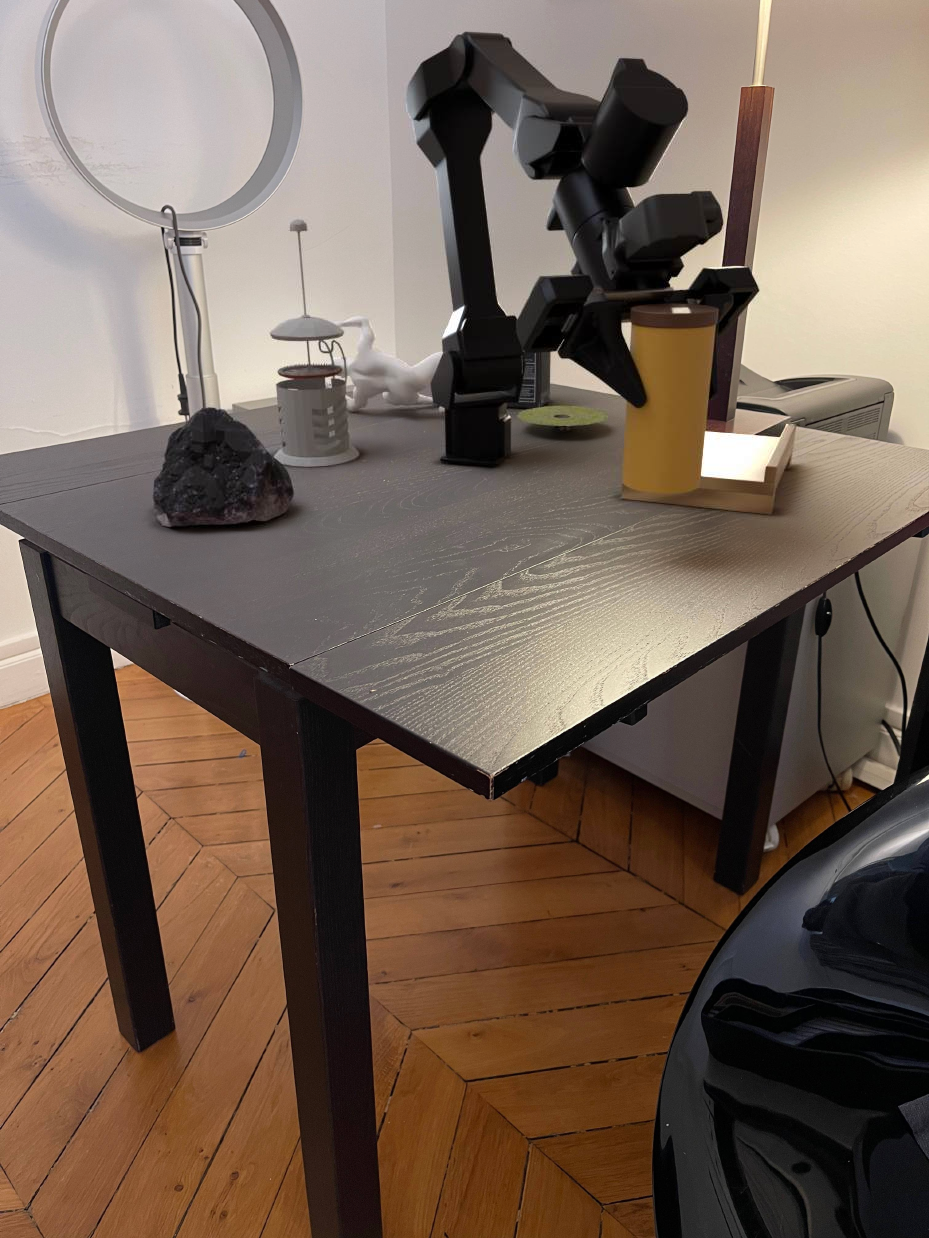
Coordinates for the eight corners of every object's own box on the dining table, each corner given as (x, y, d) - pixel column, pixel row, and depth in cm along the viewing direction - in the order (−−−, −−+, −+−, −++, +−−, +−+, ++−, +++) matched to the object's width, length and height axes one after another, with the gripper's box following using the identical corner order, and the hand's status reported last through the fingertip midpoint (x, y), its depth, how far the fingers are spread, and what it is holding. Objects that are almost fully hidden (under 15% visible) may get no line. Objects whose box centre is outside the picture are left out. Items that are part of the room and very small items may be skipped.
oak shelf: (621, 498, 90) (623, 453, 88) (661, 454, 105) (664, 414, 103) (771, 515, 85) (777, 467, 83) (790, 465, 100) (796, 424, 98)
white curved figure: (459, 323, 128) (330, 305, 122) (484, 358, 119) (345, 340, 113) (439, 411, 135) (317, 398, 129) (462, 450, 126) (330, 438, 120)
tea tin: (613, 490, 71) (623, 312, 65) (628, 469, 76) (638, 302, 71) (696, 497, 69) (714, 314, 63) (705, 475, 74) (722, 304, 69)
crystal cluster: (243, 548, 81) (244, 434, 77) (114, 520, 85) (109, 410, 81) (317, 514, 93) (320, 414, 89) (200, 491, 96) (199, 394, 93)
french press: (256, 462, 104) (230, 220, 94) (309, 439, 114) (291, 217, 104) (333, 470, 101) (314, 220, 91) (381, 445, 111) (369, 217, 100)
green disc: (621, 426, 118) (622, 410, 117) (582, 445, 110) (583, 428, 109) (543, 416, 124) (543, 402, 123) (500, 434, 115) (500, 418, 114)
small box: (551, 400, 133) (553, 324, 129) (540, 410, 128) (541, 330, 123) (481, 397, 136) (481, 322, 132) (467, 405, 131) (466, 328, 126)
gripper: (536, 149, 63) (615, 340, 58) (758, 150, 69) (844, 321, 65) (487, 267, 72) (551, 437, 68) (685, 258, 79) (756, 412, 75)
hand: (678, 400), depth 69 cm, fingers closed on tea tin, 6 cm apart
